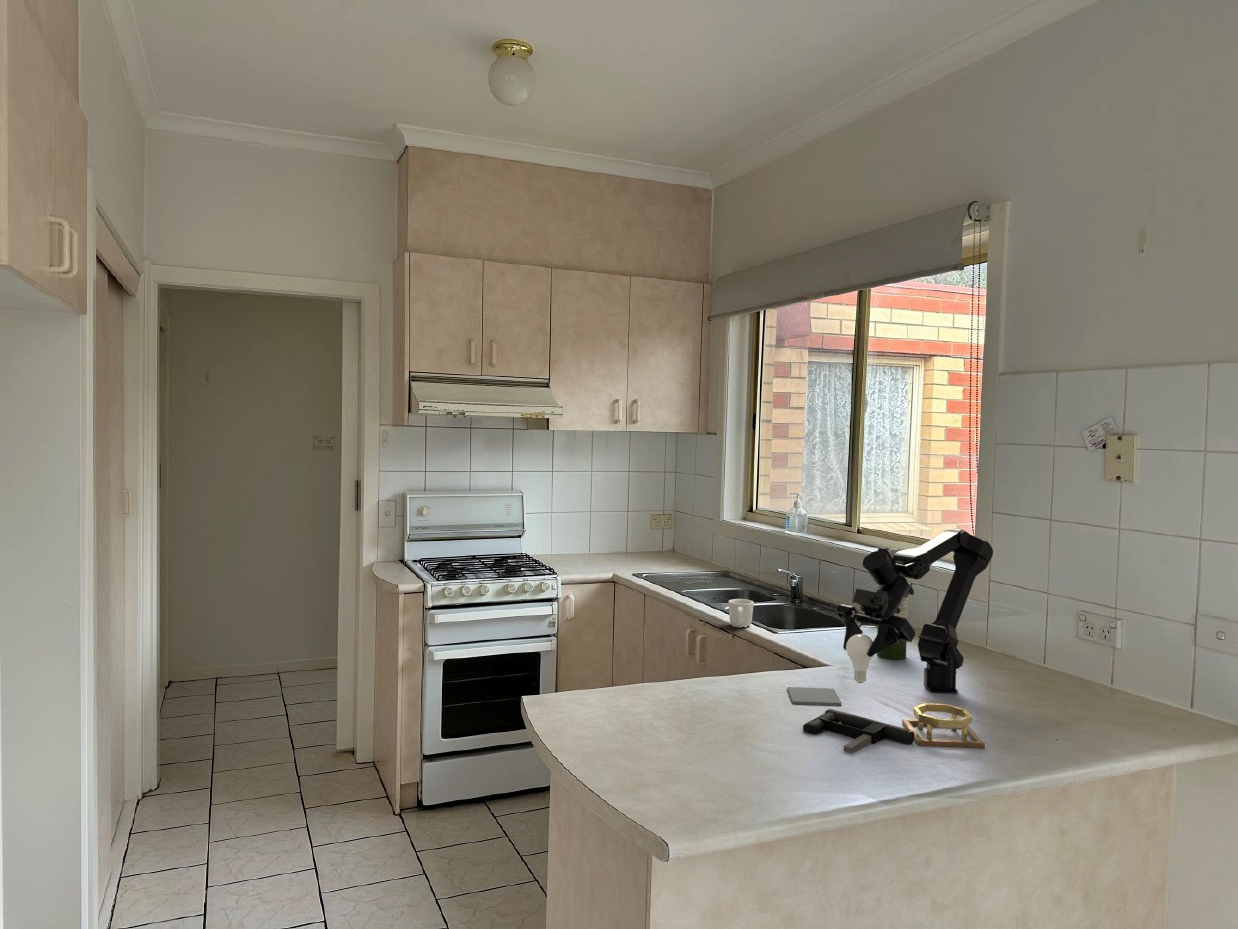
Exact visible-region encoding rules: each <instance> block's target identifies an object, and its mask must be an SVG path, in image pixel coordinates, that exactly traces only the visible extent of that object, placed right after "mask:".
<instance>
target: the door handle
mask: <svg viewBox="0 0 1238 929" xmlns="http://www.w3.org/2000/svg"><path fill="white" fill-rule="evenodd" d="M802 730H803V731H804V733H807V734H810V735H818V734H820V733H822V732H824V731H827V732H830V733H833V734H836V735H841V736H843V737H846V738H847V737H848V738H851V739H852V740H851V741H850V742H848V743H846V744H845V745H843V752H844V753H848V754H850V755H851V754H854V753H855V752H858V751H860V750H861V749H863V748H866V747H867V746H870V745H871V744H872V745H875V743H876V744H877V742H878V743H879V742H882V741H884V740H885V739H886V740H889V741H893V742H897V743H901V744H906V745H907V744H908V745H912V744H913V743H914V742H915V741H914V732H912V731H909V730H908V729H906V728H905V727H900V726H897V725H894V724H889V723H886V722H882V721H878V720H875V719H870V718H867V717H862V716H860V715H855V714H851V713H849V712H844V711H842V710H841V711H840V710H837V709H835V708H833V709H832V708H829V709H827V710H825V711H824V713H823V714H820V715H818V716H817V717H815V718H814V719H812V720H810V721H807V722H806V723H804V724H803V725H802Z"/></svg>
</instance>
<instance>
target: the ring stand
mask: <svg viewBox="0 0 1238 929" xmlns="http://www.w3.org/2000/svg"><path fill="white" fill-rule="evenodd" d="M927 712H931V713H935V712H936V713H946V714H947V713H948V714H951V718H938V717H934V716H932V715H928V714H925V713H927ZM912 713H913V716H914V717H915V718H916V719H914V718H913V719H911V718H902V720H901V722H902V723H901V724H902V725H903V728H905V729H908V730H909V731H912V732H914V741H913V742H915V744H916V746H919V747H942V748H943V747H946V748H951V747H952V748H969V749H974V748H975V749H986V748H985V745H986V742H984V741H983V740H982V739H981V738H980V736H978V735H977V733H976V732H975V731H974V730H973V729H972V728H971V726H970V725H971V724H973V715H972V714H971V713H969V711H968V709H966V708H962V707H959V706H955V705H951V704H949V703H929V702H927V703H926V702H925V703H921V704H919V705H916V706H914V707H913V712H912ZM958 717H961V718H958ZM915 726H917V729H918V730H920V731H923V730H924V727H926V738H922V737H921V736H920V734H919V733H918V732H917V731H916V730H915ZM933 727H935V728H947V729H948V728H950V729H951V731H952V732H957V729H961V740H957V739H956V740H954V739H951V740H949V739H933ZM968 737H969V738H970V740H968Z"/></svg>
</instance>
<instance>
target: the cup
mask: <svg viewBox="0 0 1238 929" xmlns="http://www.w3.org/2000/svg"><path fill="white" fill-rule="evenodd" d="M754 603H755V602H754V600H750V599H748V598H747V599H746V598H745V599H744V598H735V599H734V598H733V599H729V600H728V613H729V622H730V626H732V627H734V628H738V629H739V628H740V629H741V628H742V627H745V626H749V627H750V626H751V624H752V622H753V614H754V613H753V611H754ZM745 628H746V627H745ZM742 629H743V628H742Z"/></svg>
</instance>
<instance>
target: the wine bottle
mask: <svg viewBox="0 0 1238 929" xmlns="http://www.w3.org/2000/svg"><path fill="white" fill-rule="evenodd" d="M888 551H889V553H890V555H891V557H893V555H894V554H895V553H897V552H899V551H900V550H899V548H889V549H888ZM880 586H881V585H878V589H877V590H879V588H880ZM908 595H909V594H906V595H905V597H904V599H903V600H902V602H901V604H900V605H899V609H900V610H901V611H900V613H899V614H896V613H895V614H894V616H899V617H903V618H906V619H907V620H908V603H909V601H908V600H909V599H908V598H909V596H908ZM876 628H877V629H876V630H877V632H876V633H877V634H878V631H879V627H876ZM877 634H876V635H877ZM900 640H901V639H900ZM907 643H908V642H907V641H903V640H901V642H900V643H898V642H897V643H895V644H893V645H891V646H889V647H887V648H885V649H883V650H881V651H880V652H878V653H876V655H877V656H878V658H881V657H882V658H881V659H886V660H893V659H895V660H899V661H900V660H904V659H906V658H907ZM895 660H894V661H895Z"/></svg>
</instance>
